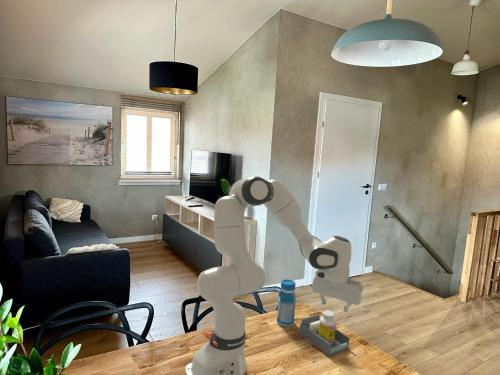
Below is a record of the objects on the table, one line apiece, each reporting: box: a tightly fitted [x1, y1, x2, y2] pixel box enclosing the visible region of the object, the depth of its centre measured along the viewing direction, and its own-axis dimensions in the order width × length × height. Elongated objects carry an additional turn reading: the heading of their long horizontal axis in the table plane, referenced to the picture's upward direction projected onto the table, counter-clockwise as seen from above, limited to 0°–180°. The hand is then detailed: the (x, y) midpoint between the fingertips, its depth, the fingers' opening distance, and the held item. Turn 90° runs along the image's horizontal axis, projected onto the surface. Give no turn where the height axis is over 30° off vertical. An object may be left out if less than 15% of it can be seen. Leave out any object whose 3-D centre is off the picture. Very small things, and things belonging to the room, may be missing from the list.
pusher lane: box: [299, 313, 350, 357], centre depth 146 cm, size 12×18×7 cm, turn 33°
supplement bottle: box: [319, 310, 337, 345], centre depth 143 cm, size 7×7×13 cm
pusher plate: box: [309, 320, 320, 335], centre depth 149 cm, size 9×2×6 cm, turn 123°
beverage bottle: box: [276, 279, 297, 327], centre depth 159 cm, size 8×8×20 cm
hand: (334, 307), depth 140 cm, fingers open, 8 cm apart
